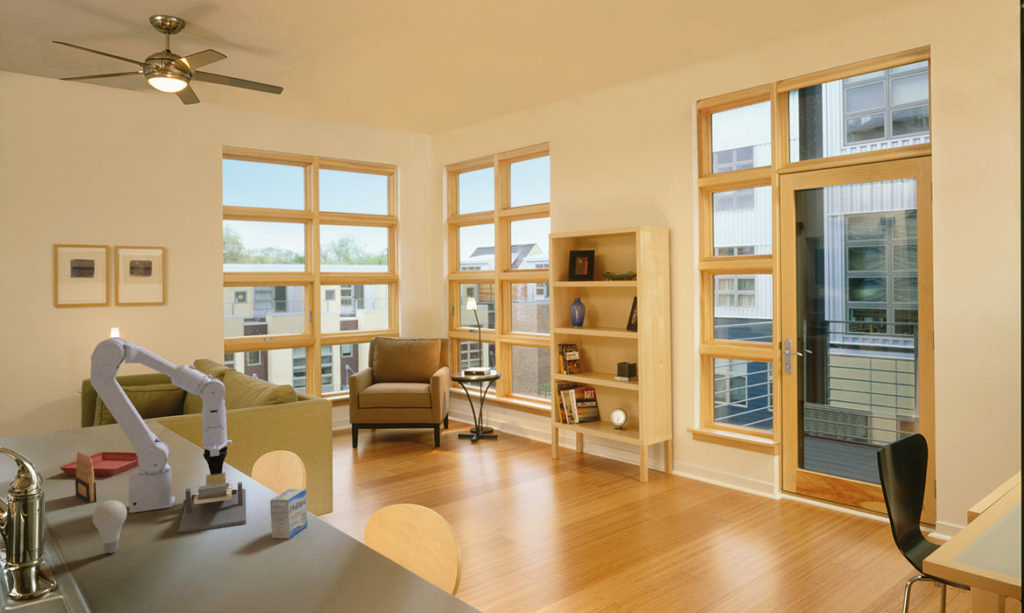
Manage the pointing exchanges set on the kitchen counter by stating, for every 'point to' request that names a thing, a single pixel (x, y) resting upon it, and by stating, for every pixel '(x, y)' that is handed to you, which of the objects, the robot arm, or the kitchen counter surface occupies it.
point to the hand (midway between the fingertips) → (216, 477)
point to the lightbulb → (110, 523)
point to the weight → (215, 479)
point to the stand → (214, 512)
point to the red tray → (107, 463)
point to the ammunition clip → (85, 478)
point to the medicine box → (288, 513)
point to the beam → (214, 493)
